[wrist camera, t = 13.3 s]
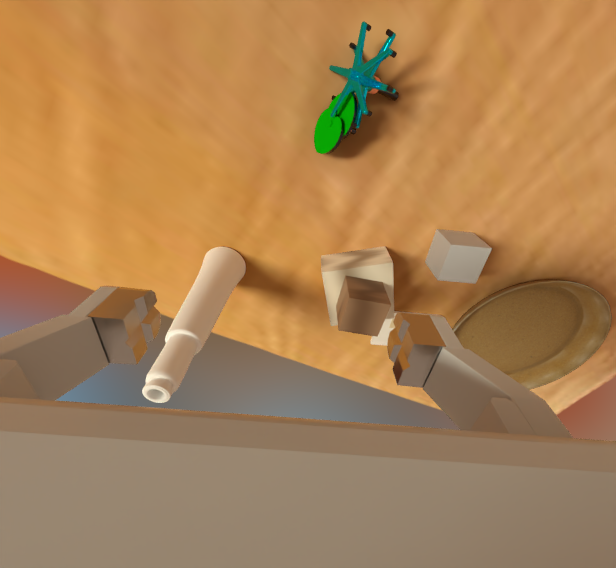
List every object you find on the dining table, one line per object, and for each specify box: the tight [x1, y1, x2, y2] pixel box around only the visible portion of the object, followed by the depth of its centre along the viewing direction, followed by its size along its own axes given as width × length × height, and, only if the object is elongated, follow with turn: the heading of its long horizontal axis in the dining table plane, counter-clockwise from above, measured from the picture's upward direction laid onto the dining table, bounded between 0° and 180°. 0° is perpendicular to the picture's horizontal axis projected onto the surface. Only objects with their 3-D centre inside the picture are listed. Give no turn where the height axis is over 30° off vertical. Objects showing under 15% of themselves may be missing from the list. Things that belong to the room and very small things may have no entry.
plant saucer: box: [452, 280, 612, 390], centre depth 47 cm, size 24×24×3 cm
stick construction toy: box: [314, 22, 399, 154], centre depth 30 cm, size 12×7×8 cm
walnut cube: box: [336, 275, 391, 337], centre depth 37 cm, size 5×5×5 cm
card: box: [370, 311, 434, 346], centre depth 48 cm, size 10×7×1 cm
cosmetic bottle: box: [142, 247, 246, 403], centre depth 33 cm, size 6×6×22 cm
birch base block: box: [321, 246, 394, 326], centre depth 41 cm, size 9×9×5 cm
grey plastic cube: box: [425, 229, 492, 284], centre depth 38 cm, size 5×5×5 cm
